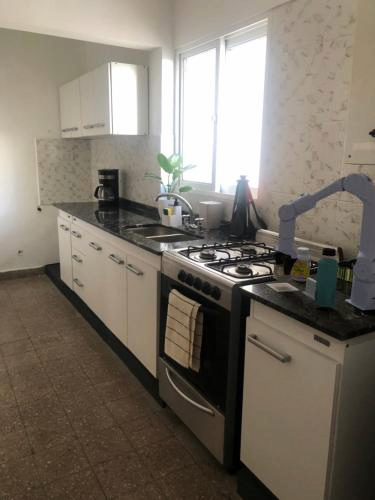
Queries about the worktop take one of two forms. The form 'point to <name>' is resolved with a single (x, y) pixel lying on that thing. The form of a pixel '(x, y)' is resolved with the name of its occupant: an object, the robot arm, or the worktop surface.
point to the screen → (310, 288)
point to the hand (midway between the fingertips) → (283, 272)
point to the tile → (282, 287)
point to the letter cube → (281, 273)
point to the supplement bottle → (302, 265)
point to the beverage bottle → (326, 279)
